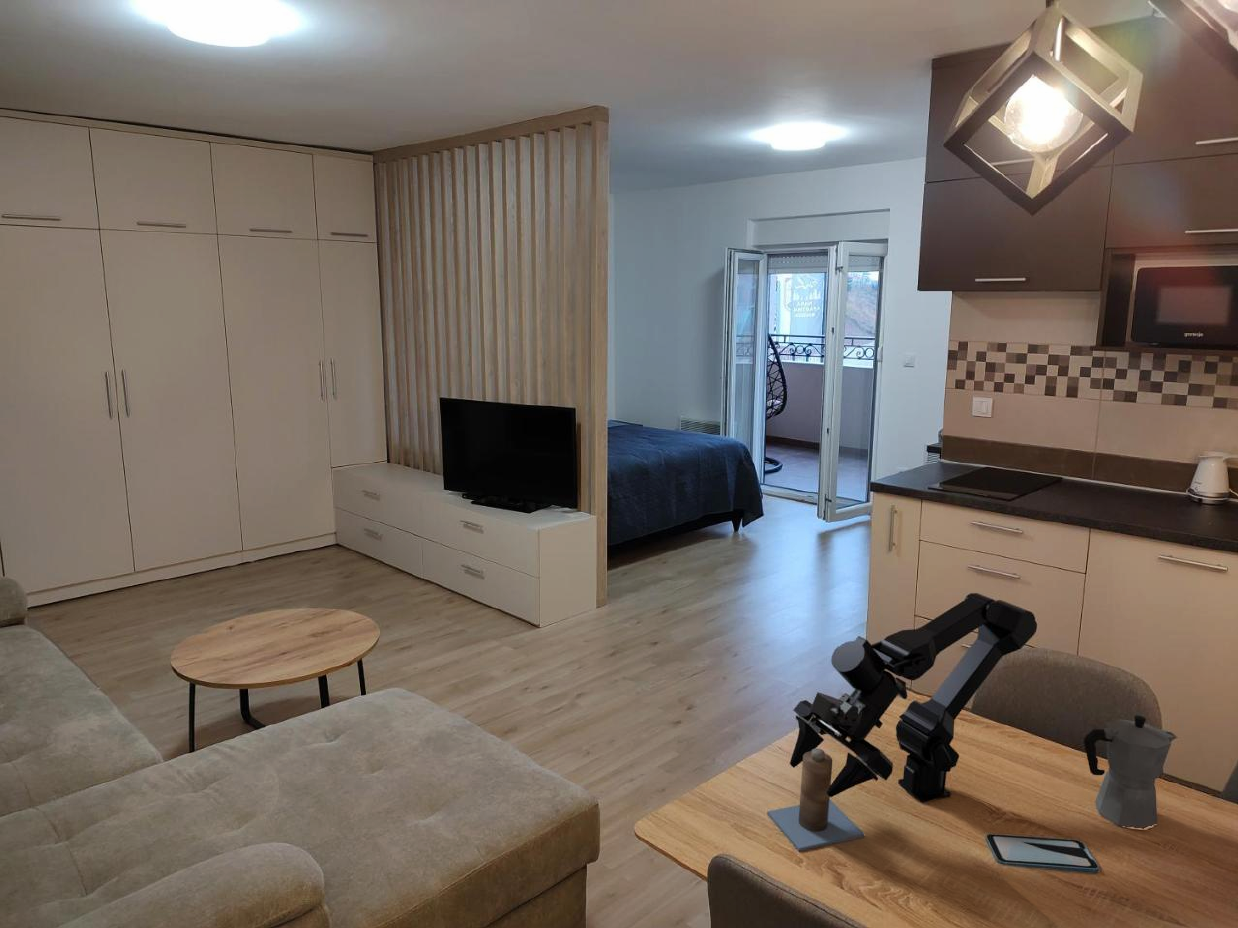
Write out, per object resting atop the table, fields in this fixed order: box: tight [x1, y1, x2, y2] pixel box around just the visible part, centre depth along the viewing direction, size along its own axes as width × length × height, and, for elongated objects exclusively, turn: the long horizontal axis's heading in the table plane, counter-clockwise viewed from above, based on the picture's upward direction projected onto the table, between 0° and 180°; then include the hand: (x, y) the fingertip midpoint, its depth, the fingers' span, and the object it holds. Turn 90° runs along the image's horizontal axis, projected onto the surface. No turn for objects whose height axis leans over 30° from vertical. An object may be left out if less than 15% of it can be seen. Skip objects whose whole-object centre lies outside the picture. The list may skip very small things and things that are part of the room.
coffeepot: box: [1083, 715, 1178, 829], centre depth 141 cm, size 15×9×18 cm, turn 92°
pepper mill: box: [799, 748, 833, 832], centre depth 137 cm, size 5×5×13 cm
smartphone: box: [984, 833, 1100, 874], centre depth 133 cm, size 7×1×15 cm
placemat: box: [766, 798, 865, 852], centre depth 139 cm, size 12×10×1 cm
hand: (809, 780), depth 136 cm, fingers open, 9 cm apart
